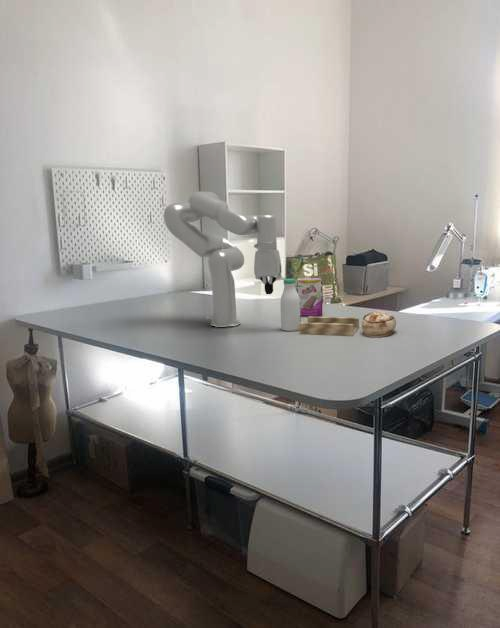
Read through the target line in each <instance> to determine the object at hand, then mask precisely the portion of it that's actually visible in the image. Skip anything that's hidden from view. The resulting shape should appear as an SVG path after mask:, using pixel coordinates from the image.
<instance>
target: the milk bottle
mask: <svg viewBox="0 0 500 628" xmlns="http://www.w3.org/2000/svg"><path fill="white" fill-rule="evenodd" d="M283 286H284V287H283V292H282V294H281V297H280V327H281V330H282V331H284V330H285V332H296V331H300V328H299V323H301V322H302V321H301V319H302V318H301V317H302V316H301V315H300V299H299V295H298V293H297V287H296V279H295V278H284V279H283Z"/></svg>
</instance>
